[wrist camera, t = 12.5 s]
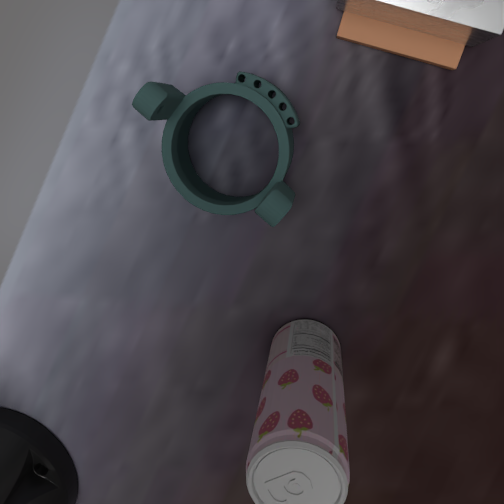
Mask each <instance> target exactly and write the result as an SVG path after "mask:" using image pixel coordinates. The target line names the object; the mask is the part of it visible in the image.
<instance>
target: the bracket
mask: <svg viewBox="0 0 504 504" xmlns="http://www.w3.org/2000/svg"><path fill="white" fill-rule="evenodd" d="M245 78H246V80H245V82H244V79H245ZM260 83H261V87H260V88H259V84H260ZM273 92H276V96H275V97H274V98H272V94H273ZM223 94H232V95H237V96H241V97H243V98H245V99H248V100H250V101H252V102H253V103H254V104H256V105H257V106H258V107H260V108H261V109H262V111H263V112H264V113H265V114H266V115H267V116H268V118H269V119H270V121H271V123H272V124H273V126H274V129H275V131H276V134H277V138H278V144H279V159H278V164H277V168H276V171H275V173H274V176H273V178H272V179H271V181H270V182H269V184H268V185H267V186H266V187H265V188H264V189H263V190H262V191H260V192H259V193H257V194H255V195H251V196H246V197H234V196H228V195H224V194H222V193H219V192H217V191H215V190H214V189H212V188H210V187H209V186H208V185H207V184H205V183H204V182H203V181H202V180H201V178H200V177H199V176H198V175H197V173H196V171H195V170H194V168H193V166H192V163H191V160H190V157H189V152H188V134H189V129H190V126H191V123H192V121H193V119H194V117H195V115H196V114H197V112H198V111H199V110H200V109H201V107H202V106H203V105H204V104H205V103H207V102H208V101H209V100H211V99H212V98H214V97H216V96H218V95H223ZM284 103H286V105H287V108H286V110H283V109H282V105H283V104H284ZM132 105H133V107H134V108H135V109H136V110H137V111H138V112H139V113H140V114H141V115H143V116H144V117H145V118H146V119H147V120H167V122H166V125H165V128H164V131H163V137H162V157H163V163H164V166H165V169H166V173H167V175H168V177H169V179H170V181H171V183H172V184H173V186H174V187H175V188H176V190H177V191H178V192H179V193H180V194H181V195H182V196H183V197H184V198H185V199H186V200H187V201H188V202H190V203H191V204H192V205H194V206H196V207H198V208H200V209H202V210H204V211H207V212H210V213H213V214H220V215H235V214H240V213H245V212H247V211H250V210H253V209H255V208H256V207H257V208H256V210H255V213H256V214H257V215H259V216H260V217H261V218H262V219H263V220H264V221H265V222H267V223H268V224H269V225H270V226H272V227H274V226H276V225H277V224H278V223H279V222H280V220H281V219H282V218H283V217H284V216H285V215H286V214H287V212H288V211H289V210H290V209H291V207H292V204H293V201H294V197H295V192H294V191H293V190H292V189H291V188H290V187H289V186H288V185H287V184H286V183H285V182H284V181H283V179H284V177H285V175H286V173H287V171H288V169H289V167H290V164H291V161H292V157H293V150H294V140H293V132H292V129H291V128H295V127H297V126H299V124H300V121H299V118H298V115H297V113H296V111H295V109H294V107H293V105H292V103H291V102H290V101H289V99H288V98H287V97H286V95H285V94H284V93H283V92H282V91H281V90H280V89H278V88H277V87H276V86H275V85H273V84H271V83H270V82H268V81H267V80H265V79H263V78H261V77H258V76H256V75H253V74H250V73H245V72H238V73H237V77H236V83H224V82H223V83H213V84H209V85H205V86H202V87H200V88H198V89H196V90H194V91H192V92H190V93H189V94H188V95H186V96H185V95H184V94H183V93H182V92H180V91H179V90H178V89H176V88H175V87H174V86H172V85H169V84H163V83H157V82H148V83H146V84H145V85H144V86H143V87H142V88H141V89H140V90H139V92H138V93H137V94H136V96H135V98H134V100H133V103H132ZM290 117H293V118H294V120H295V122H294V124H291V123H290V122H289V119H290Z"/></svg>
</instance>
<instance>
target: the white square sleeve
mask: <svg viewBox="0 0 504 504" xmlns="http://www.w3.org/2000/svg"><path fill="white" fill-rule="evenodd" d="M336 9H339V10H343V11H346V12H350V13H353V14H357V15H360V16H364V17H368V18H371V19H375V20H378V21H382V22H386V23H389V24H393V25H396V26H400V27H403V28H407V29H411V30H414V31H418V32H421V33H425V34H428V35H432V36H436V37H439V38H443V39H446V40H450V41H454V42H457V43H461V44H464V45H468V46H471V47H473V46H476V45H478V44H480V43H483V42H485V41H487V40H490V39H492V38H494V37H497V36H499V35H501V33H502V31H503V29H504V0H338V1H337V7H336Z"/></svg>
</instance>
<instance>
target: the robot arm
mask: <svg viewBox="0 0 504 504" xmlns="http://www.w3.org/2000/svg"><path fill="white" fill-rule="evenodd" d="M77 492H78V482H77V476H76V472H75V468H74V466H73V463H72V461H71V459H70V457H69V455H68V453H67V452H66V450H65V449H64V447H63V446H62V445H61V443H60V442H59V441H58V440H57V439H56V438H55V437H54V436H53V435H52V434H51V433H50V432H49V431H48V430H47V429H46V428H44V427H43V426H42V425H40V424H39V423H37V422H36V421H34V420H32V419H31V418H29V417H27V416H25V415H22V414H20V413H18V412H15V411H12V410H8V409H4V408H0V504H75V502H76V498H77Z"/></svg>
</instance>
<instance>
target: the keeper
mask: <svg viewBox="0 0 504 504" xmlns="http://www.w3.org/2000/svg"><path fill="white" fill-rule="evenodd" d="M336 38H338V39H342V40H345V41H349V42H353V43H356V44H360V45H363V46H367V47H371V48H374V49H378V50H381V51H385V52H388V53H392V54H396V55H399V56H403V57H406V58H410V59H414V60H417V61H421V62H424V63H428V64H431V65H435V66H439V67H442V68H446V69H449V70H454V69H456V68H457V65H458V63H459V60H460V58H461V55H462V52H463V50H464V47H465V45H464V44H461V43H457V42H454V41H450V40H446V39H443V38H439V37H436V36H432V35H428V34H425V33H421V32H418V31H414V30H411V29H407V28H403V27H400V26H396V25H393V24H389V23H386V22H382V21H378V20H375V19H371V18H368V17H364V16H360V15H357V14H353V13H350V12H346V11H344V14H343V17H342V20H341V24H340V27H339V30H338V33H337V37H336Z"/></svg>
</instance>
